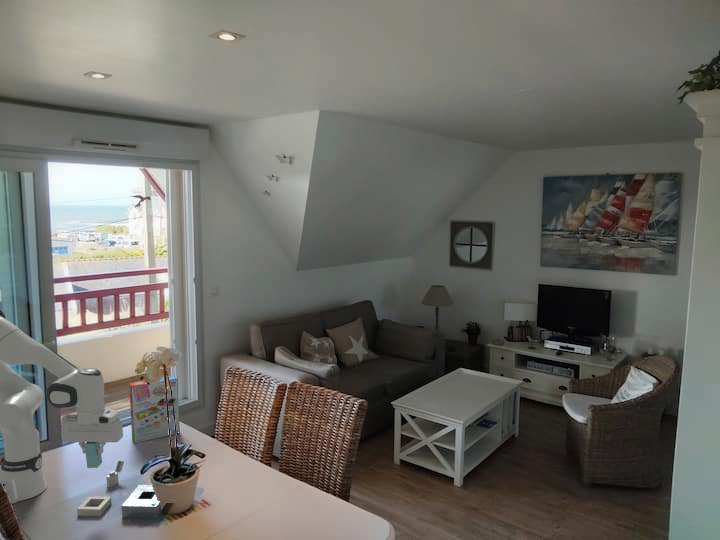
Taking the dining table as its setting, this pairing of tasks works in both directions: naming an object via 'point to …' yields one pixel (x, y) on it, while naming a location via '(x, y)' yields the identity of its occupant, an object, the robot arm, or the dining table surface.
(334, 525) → the dining table surface
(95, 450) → the plug
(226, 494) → the dining table surface
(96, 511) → the cream square frame
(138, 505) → the panel
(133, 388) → the game box
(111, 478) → the lighter
